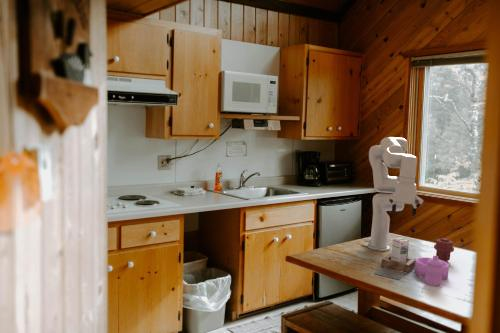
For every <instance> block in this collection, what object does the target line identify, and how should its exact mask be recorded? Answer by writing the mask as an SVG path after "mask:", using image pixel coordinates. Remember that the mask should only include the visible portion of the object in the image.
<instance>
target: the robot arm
mask: <svg viewBox="0 0 500 333" xmlns="http://www.w3.org/2000/svg"><path fill="white" fill-rule="evenodd" d="M408 146H409V144H408V141H407V139H405V138H404V137H394V136H389V137H384V138H383V139H381V141H380V144H379V145H377V144H376V145H372V146H371V147H370V148H369V151H368V161H369V164H370V166H371V169H372V176H373V186H374V190H375V191H376V192H378V193H377V194H374V195H373V198H372V223H371V233H370V238H367V237H364V238H363V242H364V243H367V245H366V246H367V248H368V249H370V250H373V251H379V252H380V251H381V252H386V251H387V252H388V251H390V250H391V246H389V245H388V242H389V235H390V234H389V232H390V221H391V218H390V215H389V214H388V213H387V212H391V211H392V214H395V213H396V212H401V211H403V210H404V208H405V205H412V206H413V207H412V214H411V215H412V217H415V216H416V215H417V211H418V208H419V207H421V205H422V204H423V203H424V199H423V198H421V197H419V196H418V194H417V193H418V192H417V189H418V188H417V184H416V176H417V167H418V166H417V165H418V158H417V156H415V155H412V154H410V153H407V151H408V148H409V147H408ZM388 168H391V169H399V175H398V176H391V175H389V169H388ZM417 201H418V203H417Z"/></svg>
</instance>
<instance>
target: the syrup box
mask: <svg viewBox="0 0 500 333" xmlns="http://www.w3.org/2000/svg"><path fill="white" fill-rule="evenodd" d="M409 244H410V240H409V239H406V238H404V237H396V238H392V244H391V253H390V254H391V260H392V261H397V262H402V263H407V257H409V256H408V255H409Z"/></svg>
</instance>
